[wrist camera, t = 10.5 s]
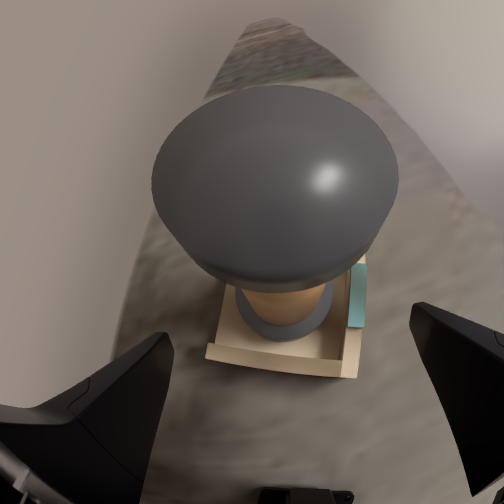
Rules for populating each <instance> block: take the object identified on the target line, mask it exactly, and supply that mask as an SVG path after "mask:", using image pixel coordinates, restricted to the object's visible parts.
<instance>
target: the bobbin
mask: <svg viewBox="0 0 504 504" xmlns="http://www.w3.org/2000/svg"><path fill="white" fill-rule="evenodd" d="M398 181H399V178H398V165H397V161H396V156H395V154H394V151H393V149H392V146H391V144H390V142H389V141H388V139H387V137H386V135H385V134H384V133H383V131H382V130H381V129H380V128H379V126H378V125H377V124H376V123H375V122H374V121H373V120H372V119H371V118H370V117H369V116H368V115H366V114H365V113H364V112H363V111H361V110H360V109H358V108H357V107H355V106H354V105H352V104H351V103H349V102H347V101H345V100H343V99H341V98H339V97H336V96H334V95H331V94H329V93H326V92H322V91H319V90H315V89H310V88H305V87H298V86H286V85H273V86H261V87H253V88H248V89H244V90H239V91H236V92H233V93H230V94H227V95H224V96H222V97H219V98H217V99H214V100H213V101H211V102H209V103H207V104H205V105H203V106H201V107H200V108H198V109H197V110H195V111H194V112H192V113H191V114H190V115H188V116H187V117H186V118H185V119H184V120H183V121H182V122H180V123H179V124H178V125H177V126H176V127H175V128H174V130H173V131H172V132H171V133H170V134H169V136H168V137H167V139H166V140H165V142H164V143H163V145H162V146H161V149H160V151H159V153H158V155H157V157H156V160H155V164H154V167H153V172H152V194H153V200H154V204H155V206H156V209H157V212H158V214H159V216H160V218H161V219H162V221H163V222H164V224H165V226H166V227H167V228H168V230H169V231H170V232H171V233H172V235H173V236H174V237H175V238H176V240H177V241H178V242H179V244H180V245H181V246H182V247H183V248H184V250H185V251H186V252H187V253H188V255H189V256H190V257H191V258H192V259H193V260H194V261H195V262H196V264H197V265H199V266H200V267H201V268H202V269H204V270H205V271H206V272H207V273H209V274H210V275H212V276H214V277H215V278H217V279H219V280H220V281H222V282H225V283H227V284H230V285H232V286H234V287H235V300H236V304H237V308H238V310H239V312H240V314H241V316H242V318H243V319H244V320H245V322H246V323H247V324H248V325H249V326H250V327H251V328H252V329H253V330H254V331H255V332H256V333H257V334H259V335H261V336H262V337H264V338H267V339H269V340H273V341H279V342H289V341H295V340H298V339H301V338H303V337H305V336H307V335H309V334H310V333H312V332H313V331H314V330H315V329H316V328H317V327H318V326H319V325H320V324H321V322H322V321H323V320H324V318H325V317H326V315H327V313H328V311H329V309H330V306H331V303H332V298H333V285H332V280H333V279H335V278H337V277H338V276H340V275H342V274H343V273H345V272H346V271H348V270H349V269H350V268H351V267H352V266H353V265H355V264H356V263H357V262H358V261H359V260H360V259H361V258H362V256H363V255H364V254H365V253H366V252H367V251H368V249H369V247H370V246H371V244H372V242H373V241H374V239H375V237H376V236H377V234H378V232H379V230H380V228H381V227H382V225H383V223H384V221H385V219H386V217H387V216H388V214H389V212H390V210H391V208H392V206H393V203H394V200H395V197H396V194H397V188H398Z"/></svg>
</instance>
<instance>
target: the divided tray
mask: <svg viewBox="0 0 504 504" xmlns="http://www.w3.org/2000/svg"><path fill="white" fill-rule="evenodd" d="M366 274H367V264H365V254H364V255H363V256H362V258H361V259H360V260H359V261H358V262H357V263H356V264H355V265H353V266H352V267H351V268H350V269H349V270H348V271H346V272H345V273H343V274H342V275H340V276H338V277H337V278H335V279H333V280H332V285H333V298H332V303H331V306H330V309H329V311H328V313H327V315H326V317H325V318H324V320H323V321H322V322H321V324H320V325H319V326H318V327H317V328H316V329H315V330H314V331H313V332H312V333H310V334H309V335H307V336H305V337H303V338H301V339H298V340H295V341H289V342H279V341H273V340H269V339H267V338H264V337H262V336H261V335H259V334H257V333H256V332H255V331H254V330H253V329H252V328H251V327H250V326H249V325H248V324H247V323H246V322H245V320H244V319H243V318H242V316H241V314H240V312H239V310H238V308H237V304H236V300H235V287H234V286H232V285H230V284H226V289H225V294H224V299H223V304H222V309H221V314H220V319H219V324H218V329H217V334H216V339H215V344H213V343H208V346H207V351H206V356H205V358H206V359H211V360H215V361H220V362H225V363H231V364H236V365H242V366H247V367H253V368H260V369H266V370H273V371H281V372H289V373H297V374H306V375H317V376H329V377H344V378H357V373H358V365H359V356H360V347H361V336H362V328H364V320H365V303H366Z"/></svg>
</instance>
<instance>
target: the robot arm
mask: <svg viewBox="0 0 504 504" xmlns="http://www.w3.org/2000/svg"><path fill="white" fill-rule="evenodd" d="M409 326H410V330H411V332H412V335H413V338H414V340H415V343H416V346H417V349H418V351H419V354H420V357H421V360H422V362H423V364H424V366H425V368H426V370H427V373H428V375H429V377H430V379H431V381H432V384H433V386H434V388H435V390H436V393H437V395H438V397H439V400H440V402H441V404H442V407H443V409H444V412H445V414H446V417H447V419H448V422H449V425H450V427H451V430H452V433H453V435H454V438H455V441H456V444H457V447H458V450H459V453H460V457H461V460H462V463H463V466H464V470H465V473H466V477H467V480H468V484H469V488H470V492H471V495H472V497H474V496H475V495H477V494H479V493H480V492H482V491H483V490H485V489H487V488H488V487H490V486H491V485H493V484H494V483H496V482H497V481H498V480H500V479H501V478H503V477H504V334H502V333H500V332H497V331H493V330H492V329H490V328H487V327H485V326H482V325H480V324H478V323H475V322H473V321H470V320H468V319H465V318H463V317H460V316H458V315H455V314H453V313H450V312H448V311H445V310H443V309H440V308H438V307H435V306H433V305H430V304H428V303H425V302H418V303H414V304H413V306H412V310H411V316H410V321H409ZM173 359H174V349H173V346H172V343H171V341H170V338H169V335H168V334H167V333H166V332H156V333H154V334H153V335H151V336H150V337H148V338H147V339H145V340H144V341H142V342H141V343H139V344H138V345H136V346H135V347H133V348H132V349H130V350H129V351H127V352H126V353H124V354H123V355H121V356H120V357H118V358H117V359H115V360H114V361H112V362H111V363H109V364H107V365H106V366H105V367H103V368H102V369H100V370H98V371H97V372H95V373H94V374H92V375H91V376H90V377H88V378H86V379H85V380H83V381H82V382H80V383H78V384H77V385H75V386H73V387H72V388H70V389H68V390H67V391H65V392H63V393H61V394H59V395H57V396H56V397H54V398H52V399H50V400H48V401H46V402H44V403H42V404H40V405H38V406H36V407H33V408H18V407H12V406H6V405H0V504H139V501H140V497H141V493H142V488H143V483H144V479H145V475H146V471H147V467H148V463H149V459H150V455H151V451H152V447H153V443H154V439H155V435H156V432H157V428H158V424H159V421H160V417H161V413H162V410H163V406H164V403H165V399H166V396H167V392H168V388H169V383H170V377H171V371H172V365H173ZM265 492H270V493H271V494H270V495H266V494H265ZM346 496H350V497H349V498H347V499H344V497H346ZM353 500H354V495H353V493H352V492H351V491H330V490H329V489H309V488H292V489H283V488H274V487H264V488H263V489H262V490H261V492H260V496H259V500H258V504H352V503H353ZM493 504H504V487H503V488H501V489H500V490H499V491H497V494H496V496H495V499H494V501H493Z"/></svg>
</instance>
